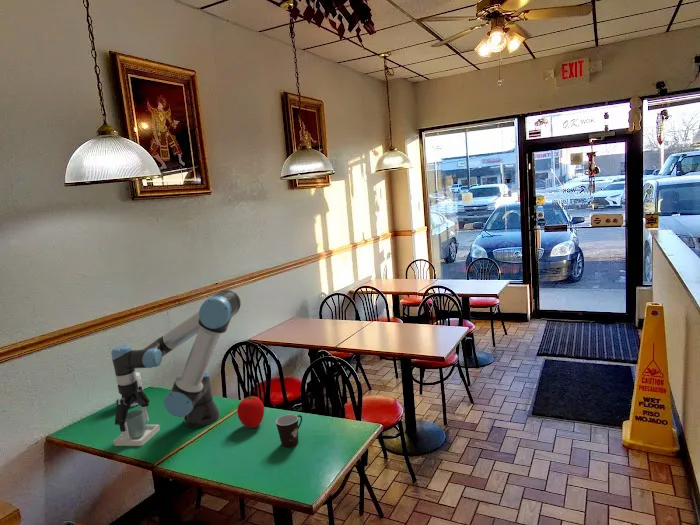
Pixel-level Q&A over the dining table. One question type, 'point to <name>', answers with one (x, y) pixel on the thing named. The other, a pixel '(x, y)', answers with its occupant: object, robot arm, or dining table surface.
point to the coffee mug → (288, 430)
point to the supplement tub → (138, 385)
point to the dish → (140, 441)
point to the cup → (136, 423)
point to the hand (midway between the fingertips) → (136, 429)
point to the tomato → (251, 411)
